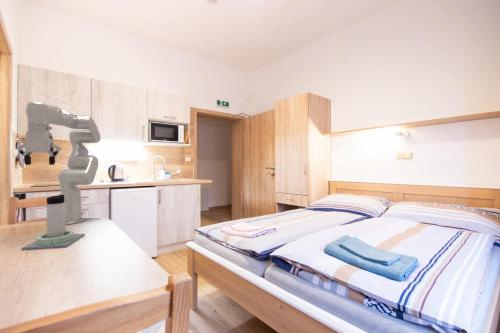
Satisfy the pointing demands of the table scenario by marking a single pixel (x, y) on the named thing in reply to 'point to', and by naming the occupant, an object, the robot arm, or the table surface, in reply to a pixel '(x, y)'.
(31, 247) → the cup dock
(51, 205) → the travel mug
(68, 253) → the table surface
